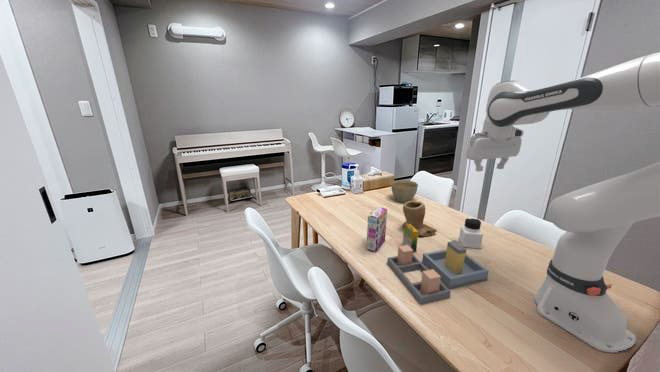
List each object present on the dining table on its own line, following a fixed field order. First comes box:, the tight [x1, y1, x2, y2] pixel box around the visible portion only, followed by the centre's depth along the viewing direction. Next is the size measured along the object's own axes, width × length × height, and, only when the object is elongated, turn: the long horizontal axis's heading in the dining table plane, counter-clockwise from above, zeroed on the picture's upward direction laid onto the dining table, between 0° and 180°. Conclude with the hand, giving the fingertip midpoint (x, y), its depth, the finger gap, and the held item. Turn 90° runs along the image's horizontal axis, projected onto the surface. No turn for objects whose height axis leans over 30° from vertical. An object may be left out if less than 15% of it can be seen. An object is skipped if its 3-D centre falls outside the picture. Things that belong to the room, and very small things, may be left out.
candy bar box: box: [366, 206, 388, 253], centre depth 116 cm, size 11×5×16 cm, turn 149°
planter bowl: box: [390, 179, 419, 204], centre depth 166 cm, size 16×16×11 cm
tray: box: [421, 248, 490, 290], centre depth 100 cm, size 16×16×4 cm
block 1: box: [396, 245, 414, 266], centre depth 102 cm, size 4×4×8 cm
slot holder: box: [386, 254, 452, 305], centre depth 96 cm, size 23×11×2 cm, turn 15°
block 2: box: [419, 269, 441, 295], centre depth 88 cm, size 4×4×8 cm
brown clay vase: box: [401, 200, 438, 237], centre depth 127 cm, size 15×12×15 cm
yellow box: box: [445, 240, 467, 274], centre depth 98 cm, size 6×3×10 cm, turn 15°
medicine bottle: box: [458, 217, 484, 250], centre depth 116 cm, size 7×7×12 cm
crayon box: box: [402, 220, 419, 253], centre depth 114 cm, size 7×3×12 cm, turn 12°
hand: (489, 169), depth 96 cm, fingers open, 8 cm apart
